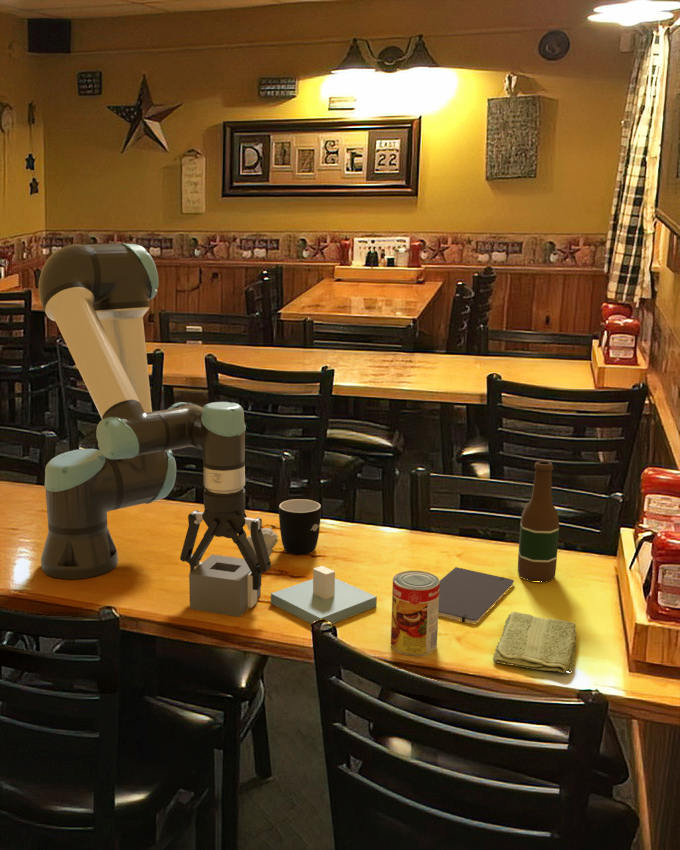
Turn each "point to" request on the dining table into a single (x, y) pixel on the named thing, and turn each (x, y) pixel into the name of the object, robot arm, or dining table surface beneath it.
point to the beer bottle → (539, 529)
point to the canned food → (415, 612)
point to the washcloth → (537, 643)
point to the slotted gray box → (220, 586)
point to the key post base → (323, 598)
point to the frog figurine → (266, 539)
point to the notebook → (470, 594)
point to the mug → (299, 525)
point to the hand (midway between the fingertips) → (225, 600)
